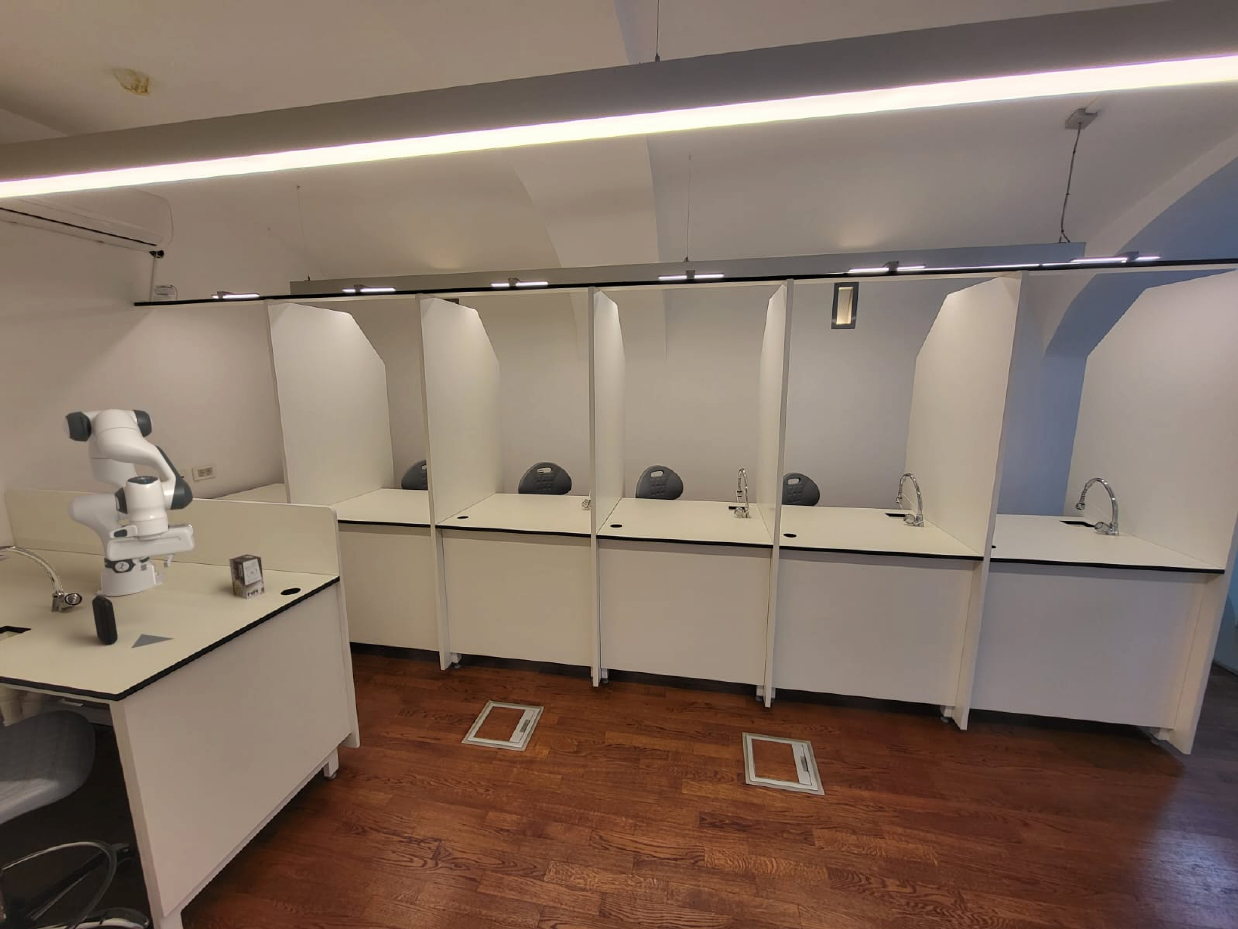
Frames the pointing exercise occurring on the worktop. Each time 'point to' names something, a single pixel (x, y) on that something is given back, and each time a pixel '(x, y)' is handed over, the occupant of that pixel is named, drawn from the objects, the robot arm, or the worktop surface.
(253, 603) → the worktop surface
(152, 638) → the mat
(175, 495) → the robot arm
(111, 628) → the carrying case or bag
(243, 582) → the coffee box
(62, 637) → the worktop surface
